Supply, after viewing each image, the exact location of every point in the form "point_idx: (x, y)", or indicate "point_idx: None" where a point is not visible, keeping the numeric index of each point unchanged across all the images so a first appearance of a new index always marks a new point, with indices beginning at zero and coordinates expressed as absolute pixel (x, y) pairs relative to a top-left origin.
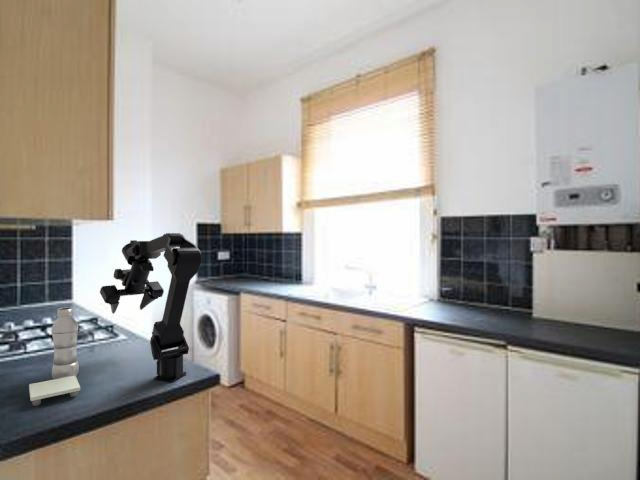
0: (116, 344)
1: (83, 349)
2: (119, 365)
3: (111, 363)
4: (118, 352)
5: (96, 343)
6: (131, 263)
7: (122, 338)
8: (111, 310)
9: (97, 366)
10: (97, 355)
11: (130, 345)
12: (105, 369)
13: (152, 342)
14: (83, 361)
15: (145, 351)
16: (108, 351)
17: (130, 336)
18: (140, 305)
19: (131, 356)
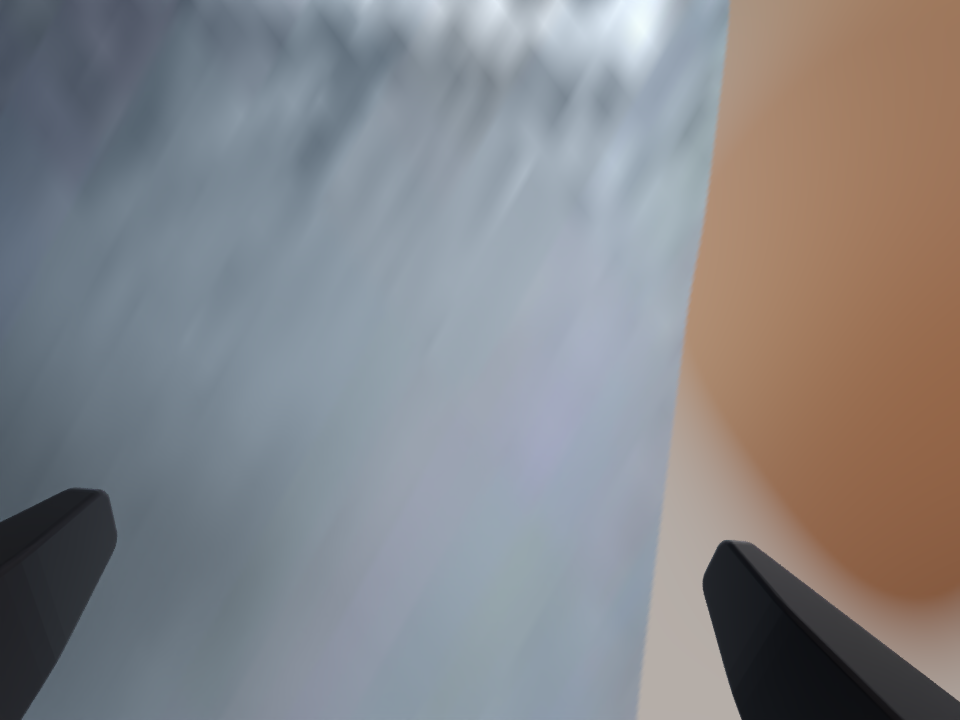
0: (507, 156)
1: (293, 71)
2: (237, 679)
3: (229, 581)
4: (407, 363)
5: (431, 7)
6: None
7: (617, 47)
8: (31, 509)
9: (129, 563)
10: (274, 302)
11: (556, 269)
12: (123, 684)
13: None
14: (134, 358)
15: (542, 511)
16: (376, 275)
17: (681, 49)
18: (761, 609)
19: (410, 542)
